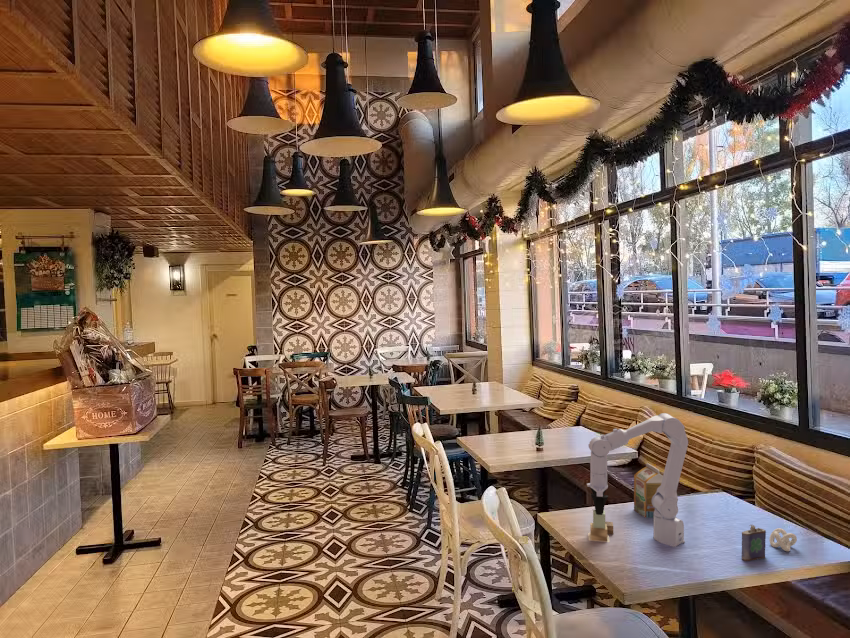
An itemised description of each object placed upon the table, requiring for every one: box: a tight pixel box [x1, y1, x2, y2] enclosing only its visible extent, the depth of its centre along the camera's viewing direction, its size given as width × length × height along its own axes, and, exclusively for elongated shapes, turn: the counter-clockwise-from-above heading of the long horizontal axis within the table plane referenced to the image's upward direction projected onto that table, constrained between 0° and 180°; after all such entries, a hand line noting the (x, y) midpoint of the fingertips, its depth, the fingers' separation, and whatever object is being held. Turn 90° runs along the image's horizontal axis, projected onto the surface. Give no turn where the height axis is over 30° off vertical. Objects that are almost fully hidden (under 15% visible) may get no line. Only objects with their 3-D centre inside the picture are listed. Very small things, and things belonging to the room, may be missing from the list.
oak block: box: [589, 522, 607, 542], centre depth 209 cm, size 6×6×4 cm
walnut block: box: [605, 521, 614, 535], centre depth 214 cm, size 4×4×3 cm
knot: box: [768, 527, 798, 553], centre depth 201 cm, size 8×8×6 cm
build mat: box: [587, 532, 610, 543], centre depth 209 cm, size 14×14×1 cm
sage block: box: [592, 509, 606, 529], centre depth 209 cm, size 4×4×5 cm
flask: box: [741, 524, 767, 562], centre depth 193 cm, size 9×3×11 cm, turn 110°
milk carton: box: [633, 462, 663, 519], centre depth 234 cm, size 10×11×19 cm
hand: (598, 510), depth 209 cm, fingers open, 7 cm apart
